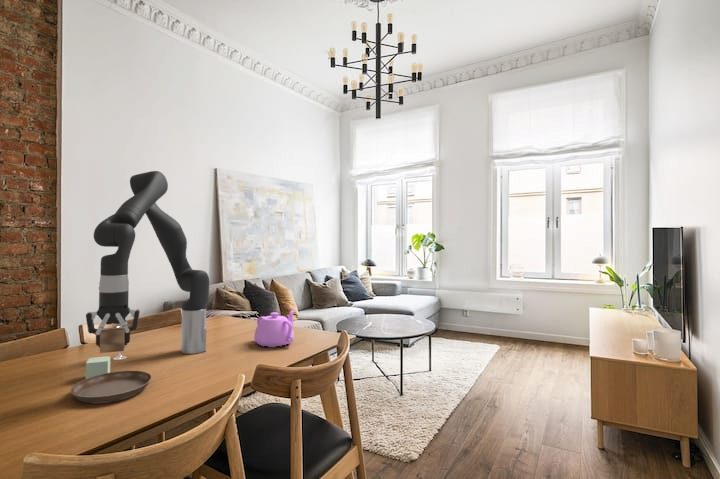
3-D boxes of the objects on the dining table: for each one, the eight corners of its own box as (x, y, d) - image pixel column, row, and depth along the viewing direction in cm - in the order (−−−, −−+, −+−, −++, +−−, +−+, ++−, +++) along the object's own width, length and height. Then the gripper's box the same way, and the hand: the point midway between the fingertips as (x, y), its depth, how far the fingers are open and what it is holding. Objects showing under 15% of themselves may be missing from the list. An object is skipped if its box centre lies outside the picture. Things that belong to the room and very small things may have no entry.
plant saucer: (91, 414, 106) (92, 401, 106) (57, 396, 116) (57, 385, 116) (165, 389, 123) (165, 378, 123) (129, 376, 134) (129, 366, 134)
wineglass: (120, 361, 149) (120, 328, 149) (107, 359, 150) (107, 328, 150) (132, 356, 155) (132, 325, 155) (119, 355, 156) (119, 324, 156)
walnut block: (125, 345, 124) (126, 326, 124) (123, 351, 118) (123, 330, 118) (103, 347, 121) (103, 328, 121) (99, 353, 116) (100, 332, 116)
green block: (110, 373, 136) (110, 356, 136) (107, 379, 130) (107, 361, 130) (89, 376, 133) (89, 358, 133) (85, 382, 128) (85, 363, 128)
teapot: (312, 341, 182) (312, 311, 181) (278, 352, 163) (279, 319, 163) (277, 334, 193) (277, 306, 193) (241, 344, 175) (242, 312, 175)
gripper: (142, 287, 126) (141, 340, 126) (87, 289, 120) (86, 344, 120) (140, 290, 119) (139, 346, 119) (82, 292, 113) (81, 351, 113)
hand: (113, 345), depth 120 cm, fingers closed on walnut block, 6 cm apart
